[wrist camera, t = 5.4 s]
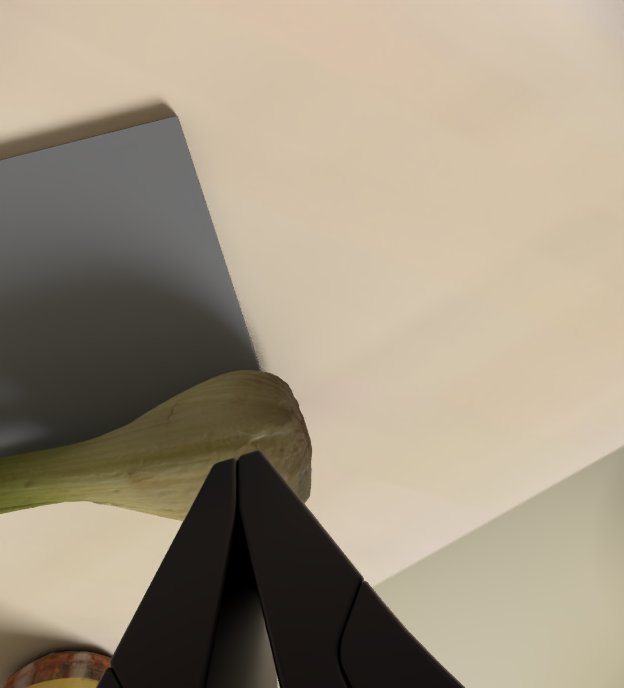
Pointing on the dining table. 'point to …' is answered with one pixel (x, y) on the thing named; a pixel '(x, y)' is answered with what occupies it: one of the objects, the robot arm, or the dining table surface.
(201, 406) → the fennel bulb
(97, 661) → the sauce bottle
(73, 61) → the dining table surface
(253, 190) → the dining table surface
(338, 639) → the robot arm
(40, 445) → the mat
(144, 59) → the dining table surface
